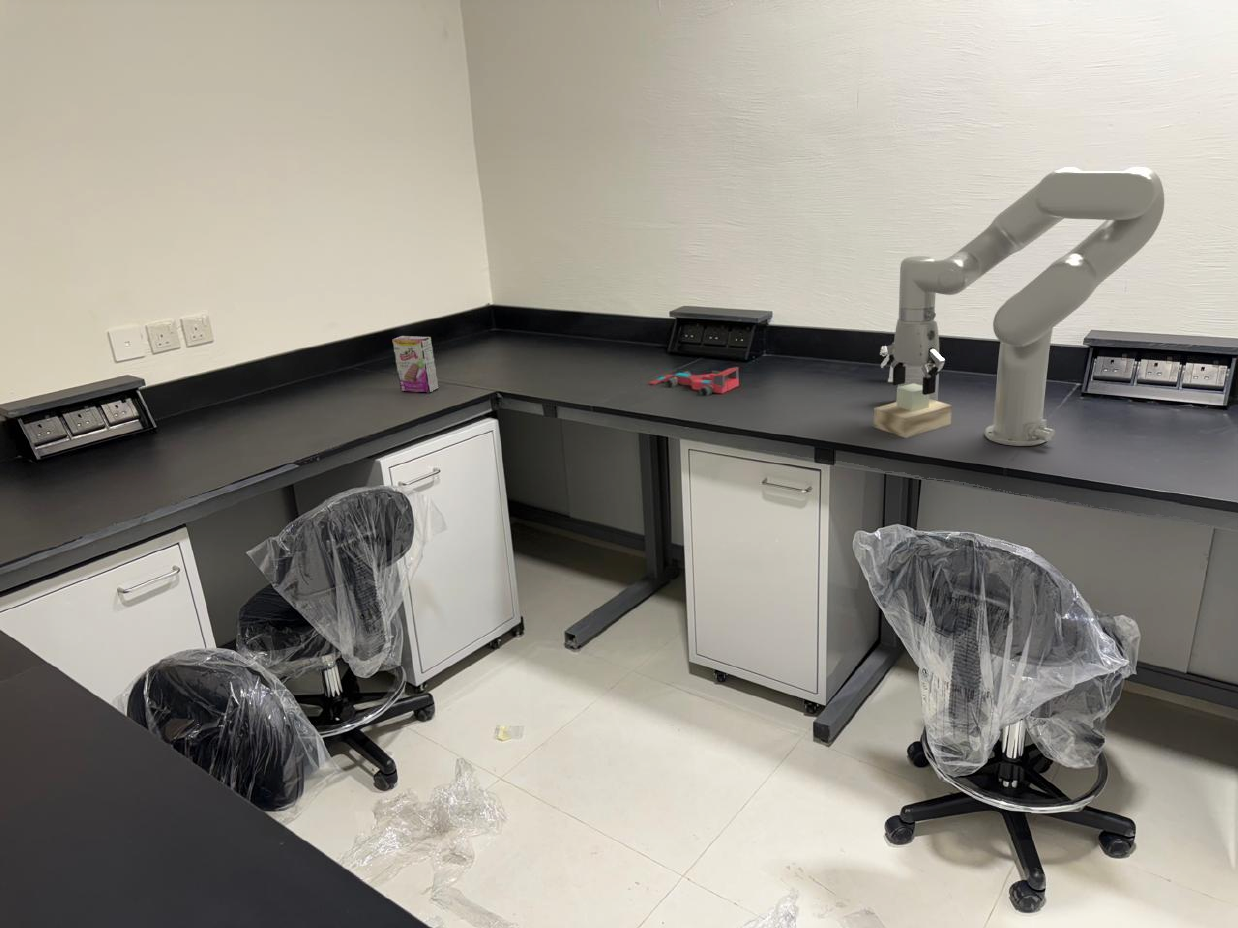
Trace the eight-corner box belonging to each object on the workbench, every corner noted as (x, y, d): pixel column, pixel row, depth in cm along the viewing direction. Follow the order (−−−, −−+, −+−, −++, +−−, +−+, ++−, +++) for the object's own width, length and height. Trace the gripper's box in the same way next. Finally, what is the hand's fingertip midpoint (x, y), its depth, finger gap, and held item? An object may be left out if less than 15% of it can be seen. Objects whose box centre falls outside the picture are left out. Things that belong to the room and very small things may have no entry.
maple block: (950, 426, 201) (951, 405, 200) (905, 439, 196) (906, 418, 194) (917, 415, 210) (918, 395, 208) (873, 428, 204) (874, 408, 202)
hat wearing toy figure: (914, 381, 235) (916, 337, 231) (909, 384, 232) (911, 340, 228) (881, 377, 240) (883, 334, 236) (876, 381, 237) (877, 338, 233)
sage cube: (928, 407, 200) (929, 388, 198) (911, 411, 198) (912, 392, 196) (913, 401, 204) (914, 383, 202) (896, 406, 202) (897, 387, 201)
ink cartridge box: (935, 399, 219) (938, 343, 213) (938, 406, 214) (941, 348, 208) (894, 400, 221) (896, 344, 216) (896, 407, 216) (898, 349, 211)
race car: (671, 356, 259) (744, 364, 243) (673, 375, 261) (745, 385, 246) (642, 368, 249) (716, 377, 233) (644, 388, 251) (717, 399, 236)
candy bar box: (400, 392, 266) (390, 339, 260) (410, 387, 270) (401, 335, 264) (430, 394, 261) (421, 340, 256) (440, 389, 266) (431, 336, 260)
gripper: (958, 317, 187) (954, 394, 193) (902, 306, 202) (900, 377, 208) (931, 323, 184) (927, 400, 191) (876, 311, 199) (875, 383, 205)
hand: (913, 388), depth 199 cm, fingers open, 9 cm apart
